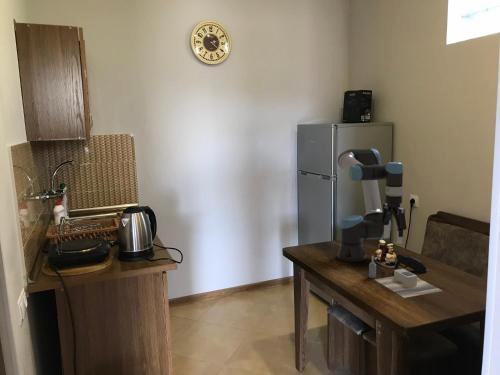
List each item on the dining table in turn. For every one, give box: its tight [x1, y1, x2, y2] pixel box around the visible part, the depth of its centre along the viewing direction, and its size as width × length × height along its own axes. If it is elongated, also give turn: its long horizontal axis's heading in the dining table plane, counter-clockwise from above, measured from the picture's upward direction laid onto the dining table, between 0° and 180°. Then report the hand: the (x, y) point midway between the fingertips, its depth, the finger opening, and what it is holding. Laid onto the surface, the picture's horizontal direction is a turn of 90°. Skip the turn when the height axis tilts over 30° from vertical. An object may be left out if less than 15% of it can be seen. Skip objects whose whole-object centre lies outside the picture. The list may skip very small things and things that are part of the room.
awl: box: [368, 255, 377, 279], centre depth 195 cm, size 3×3×11 cm
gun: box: [394, 253, 429, 273], centre depth 202 cm, size 3×16×10 cm, turn 79°
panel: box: [373, 275, 443, 299], centre depth 185 cm, size 22×20×1 cm
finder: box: [393, 268, 418, 286], centre depth 189 cm, size 10×5×4 cm, turn 16°
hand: (392, 240), depth 197 cm, fingers open, 9 cm apart
